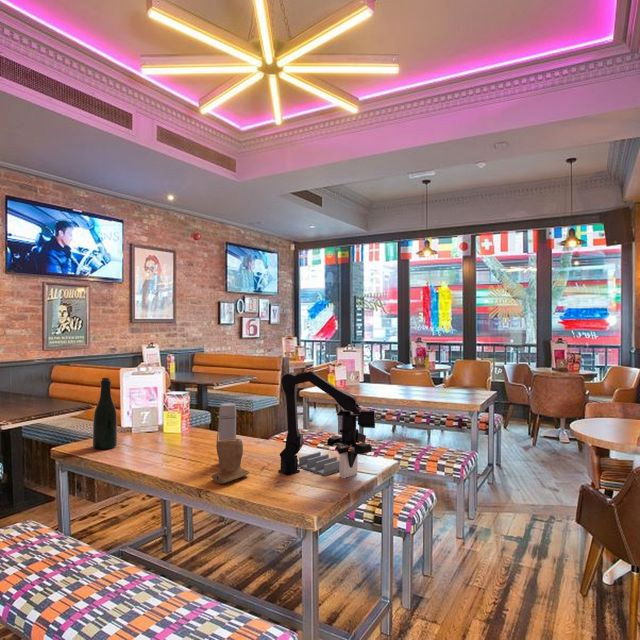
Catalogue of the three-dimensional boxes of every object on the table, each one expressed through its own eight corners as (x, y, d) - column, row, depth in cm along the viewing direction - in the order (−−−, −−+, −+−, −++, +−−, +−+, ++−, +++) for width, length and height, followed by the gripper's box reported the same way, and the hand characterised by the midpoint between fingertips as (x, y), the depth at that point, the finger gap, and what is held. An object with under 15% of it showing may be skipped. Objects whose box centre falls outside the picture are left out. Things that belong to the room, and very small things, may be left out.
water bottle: (239, 462, 199) (240, 403, 200) (228, 467, 192) (229, 406, 193) (222, 459, 203) (222, 402, 204) (210, 464, 196) (211, 404, 196)
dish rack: (324, 475, 183) (324, 465, 183) (296, 466, 195) (296, 457, 195) (347, 468, 193) (347, 458, 193) (320, 459, 204) (320, 451, 205)
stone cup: (231, 470, 188) (232, 433, 189) (253, 476, 182) (254, 437, 182) (202, 480, 176) (203, 440, 176) (224, 487, 169) (225, 445, 169)
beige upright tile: (343, 478, 180) (344, 455, 180) (339, 477, 182) (339, 454, 182) (357, 474, 186) (357, 451, 186) (352, 472, 187) (352, 450, 187)
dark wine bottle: (119, 447, 220) (120, 377, 220) (95, 451, 213) (97, 379, 214) (113, 443, 228) (114, 375, 228) (89, 446, 221) (90, 377, 222)
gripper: (380, 427, 183) (380, 467, 183) (344, 420, 196) (344, 457, 196) (362, 432, 175) (361, 473, 175) (326, 424, 188) (326, 463, 188)
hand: (348, 466), depth 184 cm, fingers closed on beige upright tile, 2 cm apart
